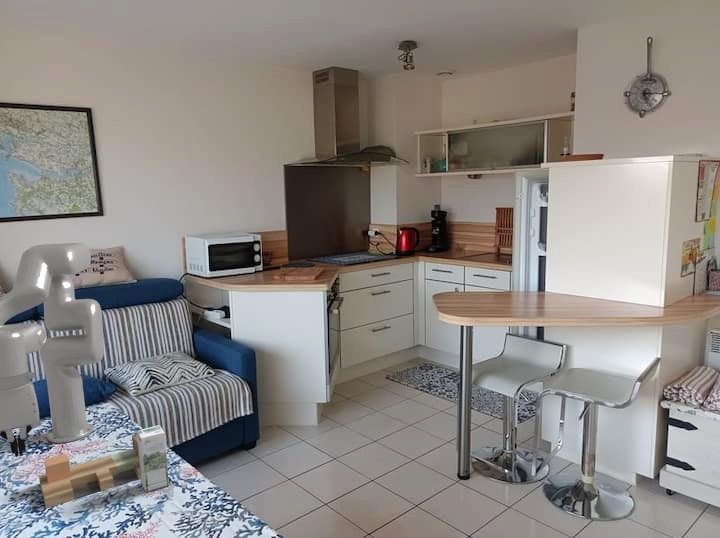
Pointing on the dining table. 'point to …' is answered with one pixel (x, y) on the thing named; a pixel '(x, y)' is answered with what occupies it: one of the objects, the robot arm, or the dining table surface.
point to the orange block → (57, 468)
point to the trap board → (93, 477)
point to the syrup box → (152, 458)
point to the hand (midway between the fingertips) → (18, 454)
